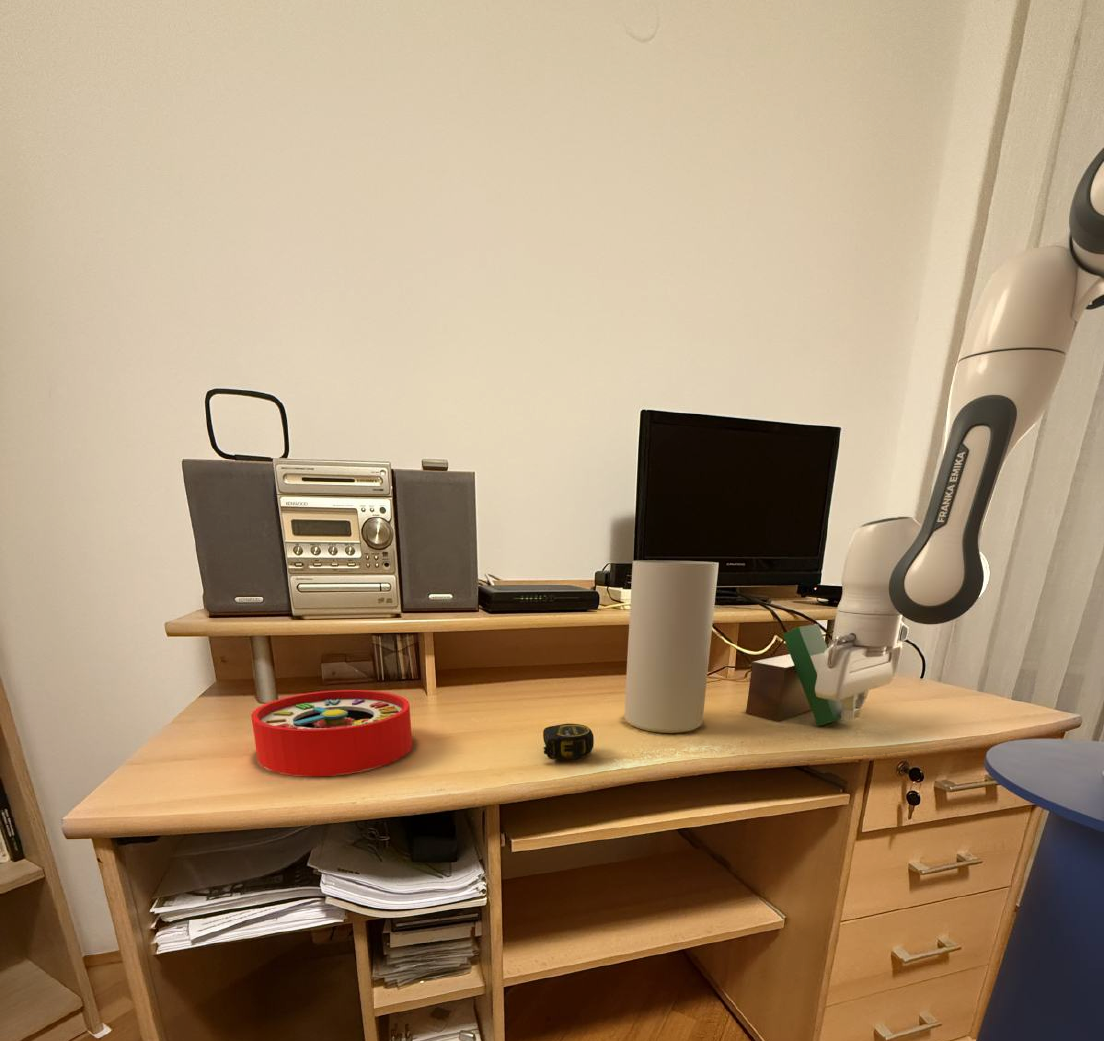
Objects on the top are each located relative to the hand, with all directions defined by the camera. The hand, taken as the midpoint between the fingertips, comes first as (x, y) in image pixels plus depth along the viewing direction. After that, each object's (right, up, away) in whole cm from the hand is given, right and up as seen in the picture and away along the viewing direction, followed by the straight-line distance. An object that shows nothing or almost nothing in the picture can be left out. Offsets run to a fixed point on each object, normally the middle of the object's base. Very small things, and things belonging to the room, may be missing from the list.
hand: (849, 718), depth 93 cm
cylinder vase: (-30, -1, +2) cm, 30 cm away
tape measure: (-46, -6, -14) cm, 48 cm away
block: (-7, +2, +9) cm, 12 cm away
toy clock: (-77, -5, -12) cm, 78 cm away
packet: (-4, +7, +3) cm, 9 cm away
